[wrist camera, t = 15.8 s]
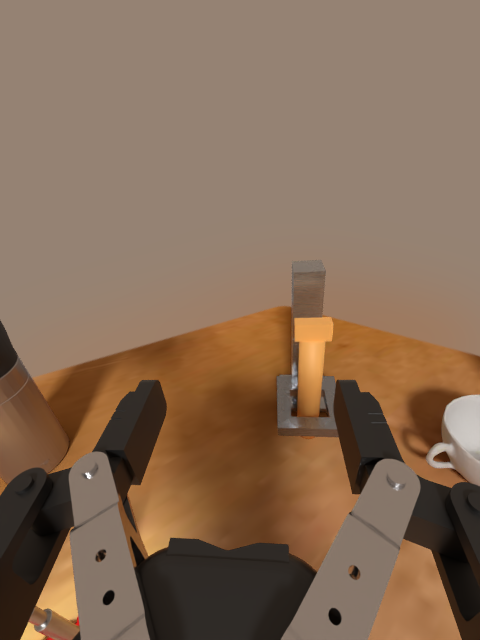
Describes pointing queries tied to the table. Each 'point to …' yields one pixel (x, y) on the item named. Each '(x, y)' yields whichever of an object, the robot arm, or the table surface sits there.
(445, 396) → the table surface
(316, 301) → the scaffold post with crossbars
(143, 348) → the table surface
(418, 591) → the table surface
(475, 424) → the teacup
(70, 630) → the red handwheel with stem
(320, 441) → the table surface
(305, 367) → the wedge pin
